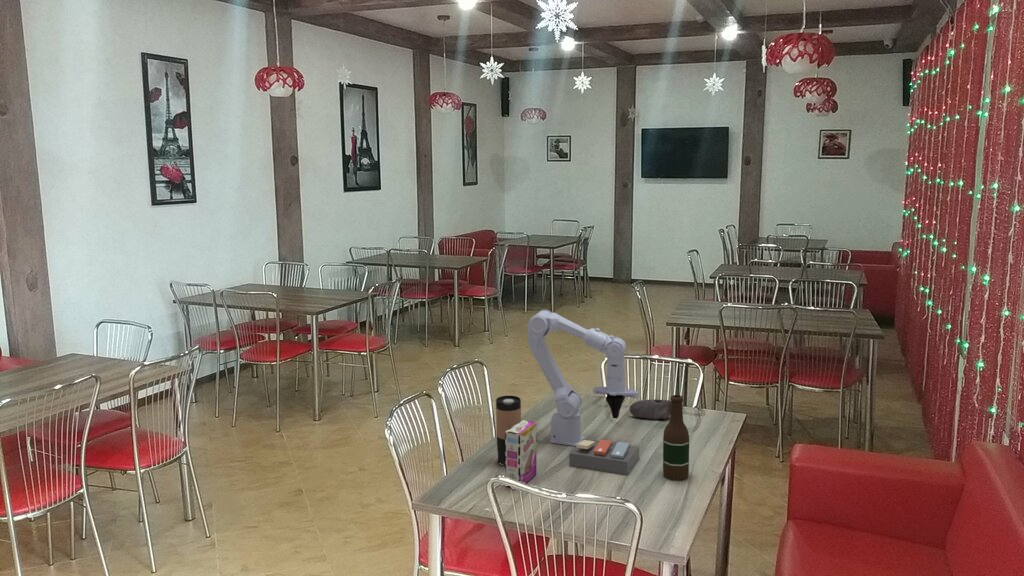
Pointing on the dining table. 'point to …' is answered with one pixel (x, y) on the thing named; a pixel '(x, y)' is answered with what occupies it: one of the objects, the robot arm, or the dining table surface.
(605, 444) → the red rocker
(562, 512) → the dining table surface
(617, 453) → the slate rocker
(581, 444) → the block
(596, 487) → the dining table surface
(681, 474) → the beer bottle
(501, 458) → the travel mug
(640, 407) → the perforated stone tool
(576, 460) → the rocker switch panel
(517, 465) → the candy bar box
